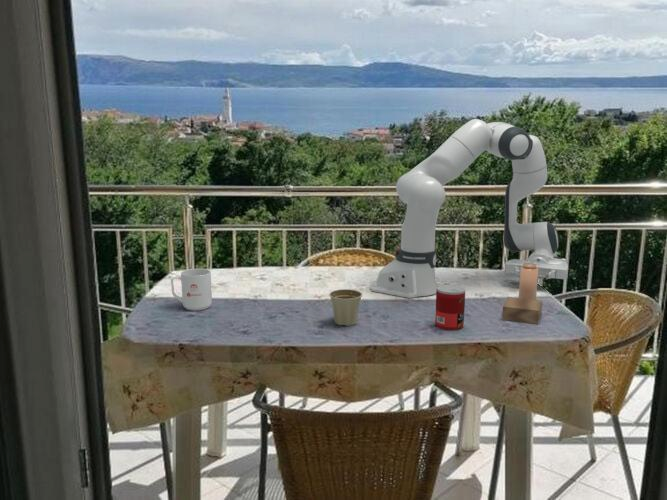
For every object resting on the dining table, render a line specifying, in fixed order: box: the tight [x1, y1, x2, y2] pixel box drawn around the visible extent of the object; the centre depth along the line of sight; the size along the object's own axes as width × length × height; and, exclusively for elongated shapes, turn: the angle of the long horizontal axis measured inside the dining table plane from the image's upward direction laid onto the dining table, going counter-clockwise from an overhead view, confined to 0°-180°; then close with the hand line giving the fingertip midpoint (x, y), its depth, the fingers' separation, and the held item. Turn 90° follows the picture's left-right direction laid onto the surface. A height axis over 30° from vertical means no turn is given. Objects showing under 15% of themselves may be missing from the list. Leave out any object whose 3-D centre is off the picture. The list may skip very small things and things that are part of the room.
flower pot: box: [328, 288, 363, 327], centre depth 184 cm, size 9×9×9 cm
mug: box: [170, 268, 213, 312], centre depth 198 cm, size 12×9×11 cm
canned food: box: [434, 284, 466, 331], centre depth 181 cm, size 8×8×11 cm
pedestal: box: [501, 296, 543, 325], centre depth 189 cm, size 10×10×4 cm
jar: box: [518, 263, 539, 300], centre depth 199 cm, size 5×5×13 cm
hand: (532, 274), depth 210 cm, fingers open, 8 cm apart
